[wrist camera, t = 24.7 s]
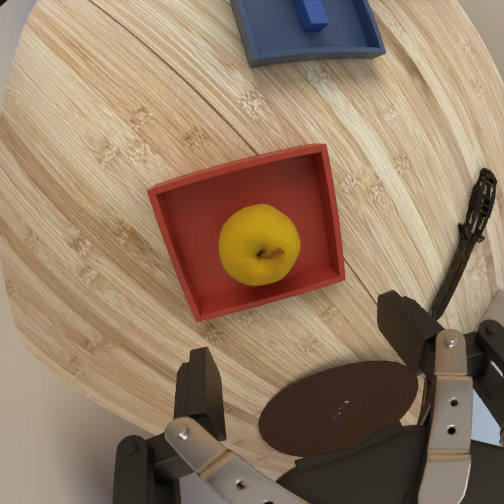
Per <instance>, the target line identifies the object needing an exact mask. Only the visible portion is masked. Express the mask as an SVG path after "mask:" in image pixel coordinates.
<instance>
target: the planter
mask: <svg viewBox="0 0 504 504" xmlns="http://www.w3.org/2000/svg"><path fill="white" fill-rule="evenodd" d="M487 319H491V320H495V321H497V322H499V323H500V324H501V325H502V326H503V327H504V291H503V290H501V289H499V291H498V292H497V294H496V296H495V297H494V299H493V301H492V302H491V304H490V306H489V307H488V309H487V311H486V312H485V314H484V315H483V317H482V319H481V320H480V322H479V323H478V325H477V326H476V328H475V329H474V331H473V332H475V331H477V329H478V326H479V324H480V323H481V322H482V321H484V320H487Z"/></svg>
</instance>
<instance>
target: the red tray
mask: <svg viewBox="0 0 504 504" xmlns="http://www.w3.org/2000/svg"><path fill="white" fill-rule="evenodd" d="M147 192H148V195H149V198H150V201H151V204H152V207H153V210H154V213H155V216H156V219H157V222H158V225H159V228H160V231H161V233H162V236H163V239H164V242H165V245H166V247H167V250H168V253H169V255H170V258H171V261H172V263H173V266H174V269H175V271H176V274H177V276H178V279H179V281H180V284H181V286H182V289H183V291H184V294H185V296H186V299H187V301H188V303H189V306H190V308H191V311H192V313H193V315H194V318H195V320H196V322H199V321H203V320H207V319H211V318H215V317H219V316H223V315H227V314H231V313H234V312H238V311H242V310H246V309H249V308H253V307H257V306H260V305H264V304H268V303H271V302H275V301H278V300H282V299H285V298H288V297H292V296H295V295H299V294H302V293H305V292H308V291H312V290H315V289H318V288H321V287H325V286H328V285H331V284H334V283H337V282H340V281H343V280H345V269H344V258H343V249H342V240H341V232H340V224H339V217H338V210H337V203H336V196H335V190H334V184H333V178H332V172H331V166H330V161H329V156H328V151H327V146H326V144H309V145H304V146H298V147H293V148H289V149H284V150H279V151H275V152H270V153H266V154H262V155H257V156H253V157H249V158H245V159H241V160H237V161H233V162H229V163H226V164H222V165H218V166H215V167H211V168H208V169H204V170H201V171H197V172H194V173H191V174H187V175H184V176H181V177H178V178H174V179H171V180H168V181H165V182H162V183H159V184H156V185H154V186H153V187H151V188H150V189H148V190H147ZM258 204H268V205H270V206H272V207H274V208H276V209H277V210H279V211H280V212H282V213H283V214H285V215H286V216H287V217H288V218H289V219H290V220H291V221H292V222H293V224H294V225H295V227H296V230H297V232H298V235H299V239H300V252H299V255H298V257H297V259H296V261H295V263H294V265H293V266H292V268H291V269H290V271H289V272H288V273H287V274H286V276H284V277H283V278H282V279H280V280H278V281H276V282H273V283H269V284H264V285H258V286H251V285H246V284H244V283H241V282H239V281H237V280H236V279H234V278H233V277H232V276H230V275H229V274H228V273H227V272H226V270H225V269H224V267H223V265H222V262H221V259H220V254H219V246H218V245H219V237H220V232H221V229H222V227H223V225H224V224H225V222H226V221H227V220H228V219H229V218H230V217H231V216H232V215H233V214H235V213H236V212H237V211H239V210H241V209H243V208H245V207H248V206H252V205H258Z"/></svg>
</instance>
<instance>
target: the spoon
mask: <svg viewBox="0 0 504 504" xmlns="http://www.w3.org/2000/svg"><path fill="white" fill-rule="evenodd" d="M292 1H293V4H294V6H295V9H296V12H297V15H298V17H299V20H300V23H301V26H302V29H303V32H320V31H322V30H323V29H324V28H325V27H326V26H327V25H328V24H329V21H328V18H327V15H326V12H325V10H324V7H323V5H322V2H321V0H292Z"/></svg>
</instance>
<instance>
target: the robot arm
mask: <svg viewBox="0 0 504 504" xmlns="http://www.w3.org/2000/svg"><path fill="white" fill-rule="evenodd" d="M377 323H378V327H379V330H380V332H381V333H382V334H383V336H384V337H385V338H386V339H387V341H388V342H389V343H390V345H391V346H392V347H393V348H394V350H395V351H396V352H397V354H398V355H399V356H400V358H401V359H402V360H403V361H404V363H405V364H406V365H407V367H408V368H409V369H410V371H411V372H412V373H413V375H414V376H415V377H417V376H418V375H420V374H422V373H424V375H425V376H426V377H425V381H424V390H423V397H422V404H421V411H420V415H419V419H418V422H417V425H407V426H402V425H401V423H400V421H398V422H396V423H394V424H392V425H389V426H387V427H385V428H383V429H381V430H379V431H376V432H375V433H373V434H372V435H371V436H369V437H368V438H366V439H365V440H364V441H362V442H361V443H359V444H358V445H356V446H355V447H353V448H351V449H345V450H338V451H330V452H322V453H319V454H315V455H312V456H309V457H305V458H302V459H298V460H295V464H296V467H294V468H292V469H290V470H289V471H287V472H286V473H284V474H283V475H282V476H280V477H279V478H278V479H277V480H276V481H273V480H271V479H270V478H269V477H267V476H266V475H264V474H263V473H262V472H260V471H259V470H257V469H256V468H255V467H253V466H252V465H251V464H249V463H248V462H247V461H245V460H244V459H243V458H241V457H240V456H239V455H238V454H236V453H235V452H234V451H232V450H230V449H227V448H226V447H225V446H223V445H222V444H221V443H220V442H219V441H225V440H226V430H225V419H224V408H223V396H222V383H221V377H220V373H219V370H218V368H217V366H216V364H215V362H214V360H213V358H212V355H211V353H210V351H209V349H208V348H207V347H203V348H199V349H194V350H191V351H190V360H189V362H187V363H182V365H181V367H180V369H179V370H178V372H177V381H176V382H177V384H176V392H175V405H174V418H173V420H172V421H171V422H170V423H169V424H168V425H167V427H166V429H165V432H163V433H162V434H160V435H157V436H155V437H152V438H149V439H147V440H144V439H143V438H142V437H140V436H137V435H132V436H128V437H125V438H124V439H123V440H122V441H121V442H120V443H119V445H118V447H117V452H116V461H115V462H116V463H115V472H114V486H113V504H181V496H180V484H179V478H180V477H183V476H186V475H188V474H191V473H194V472H196V473H197V474H198V476H199V477H200V478H201V479H202V480H203V481H204V482H205V483H206V484H207V485H208V486H209V487H210V488H211V489H212V490H213V491H214V492H215V493H216V494H218V495H219V496H220V497H221V498H222V499H223V500H224V501H225V502H227V503H228V504H504V327H503V326H502V325H501V324H500V323H499V322H497V321H495V320H491V319H487V320H484V321H482V322H481V323H480V324H479V326H478V329H477V331H475V332H471V333H467V334H462V333H461V332H459V331H457V330H454V329H444V328H443V327H442V326H441V325H440V324H439V323H438V322H437V321H436V320H435V319H434V318H433V317H432V316H431V315H430V314H429V313H428V312H427V313H426V311H425V310H424V309H423V308H421V306H420V305H419V304H418V303H417V302H416V301H415V300H413V299H411V298H408V297H406V296H404V297H401V296H400V295H399V294H398V293H397V292H396V291H395V290H391V291H388V292H386V293H383V294H380V295H379V296H378V306H377ZM492 361H493V362H494V363H495V364H496V366H497V367H498V368H499V369H500V370H501V372H502V373H503V377H502V376H501V375H500V374H499V372H498V371H497V370H496V369H495V367H494V366H493V365H492V364H491V363H492ZM473 389H474V390H475V391H476V393H477V394H478V395H479V397H480V398H481V399H482V401H483V403H484V404H485V405H486V407H487V408H488V410H489V411H490V413H491V414H492V416H493V417H494V419H495V420H496V422H497V423H498V425H499V426H500V428H501V430H500V441H499V443H500V446H497V445H492V444H488V443H484V442H480V441H476V440H472V439H471V428H472V408H473V405H472V404H473Z"/></svg>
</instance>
